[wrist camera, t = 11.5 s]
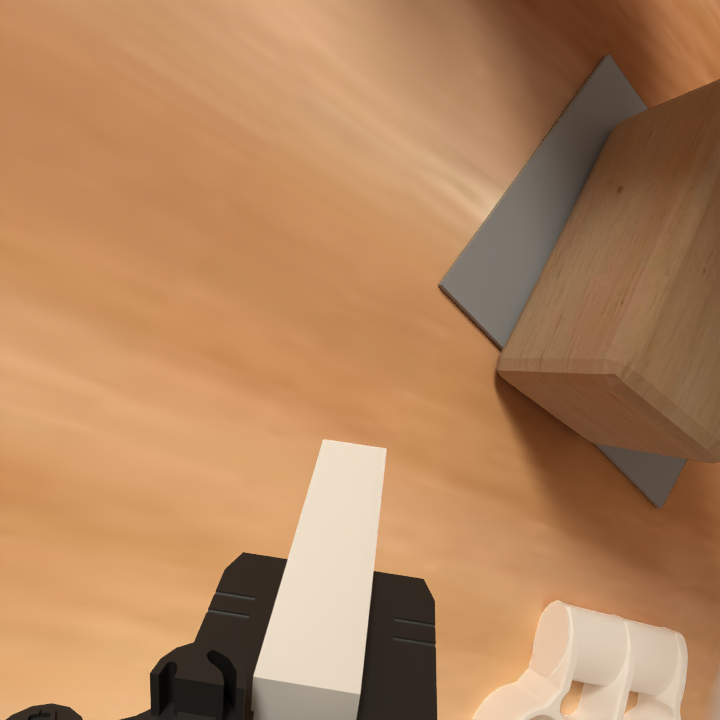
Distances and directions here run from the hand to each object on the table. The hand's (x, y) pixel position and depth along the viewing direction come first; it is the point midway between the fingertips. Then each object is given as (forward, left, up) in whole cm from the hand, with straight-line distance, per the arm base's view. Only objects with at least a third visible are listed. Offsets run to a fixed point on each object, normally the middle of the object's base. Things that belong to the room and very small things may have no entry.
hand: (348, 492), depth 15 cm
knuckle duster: (+1, +33, -19) cm, 38 cm away
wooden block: (-13, +17, -13) cm, 25 cm away
